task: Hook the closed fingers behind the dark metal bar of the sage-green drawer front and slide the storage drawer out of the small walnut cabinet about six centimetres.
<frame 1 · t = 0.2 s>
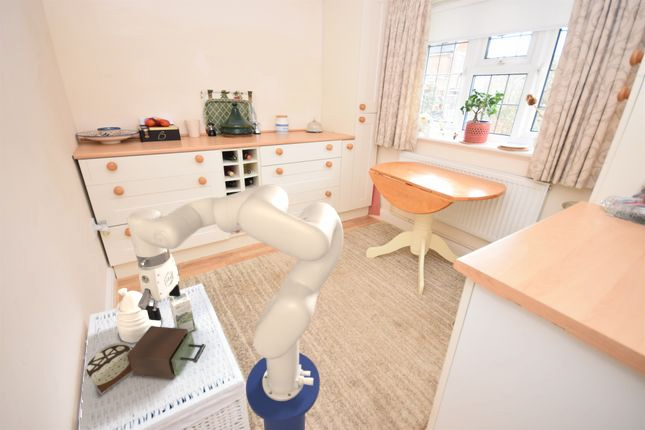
hand: (165, 307, 83), 24 cm above the counter, tool pointing down, fingers open, 9 cm apart
cabinet: (164, 360, 94), on the counter
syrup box: (185, 329, 107), on the counter
mint chocolate cake slice: (113, 377, 89), on the counter
drawer: (176, 352, 92), point 4 cm above the counter, slide at 0.5 cm
honey pot: (141, 328, 106), on the counter
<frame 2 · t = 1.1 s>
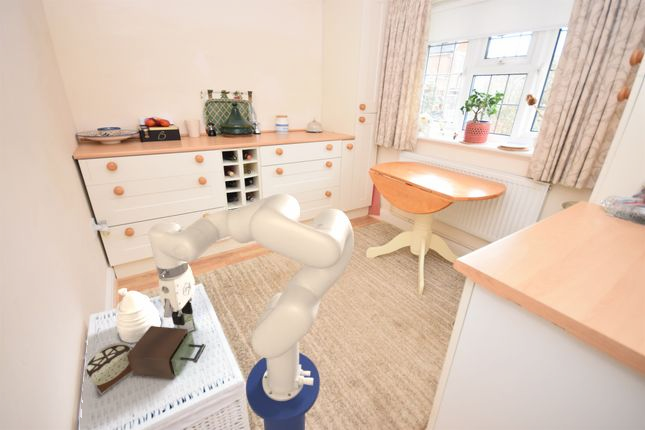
hand: (183, 318, 86), 19 cm above the counter, tool pointing down, fingers open, 3 cm apart
nothing on the counter moved.
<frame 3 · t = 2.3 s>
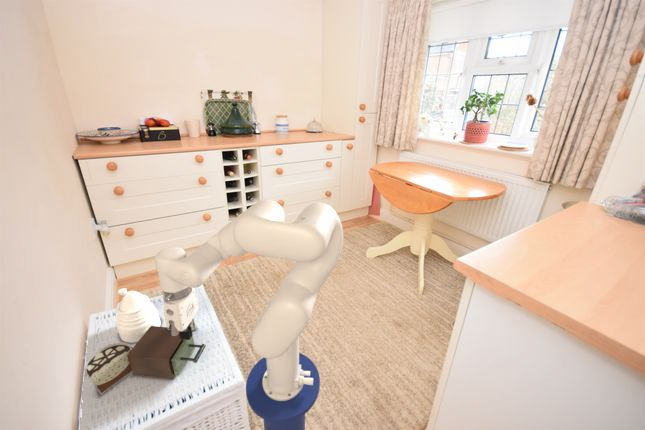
hand: (186, 337, 89), 12 cm above the counter, tool pointing down, fingers closed
nothing on the counter moved.
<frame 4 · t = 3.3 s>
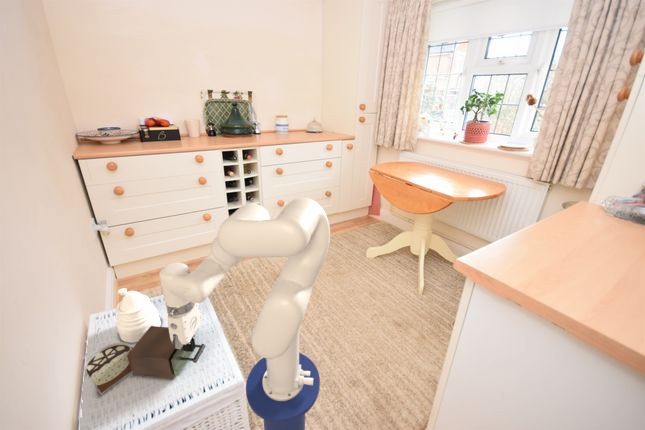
hand: (189, 349, 91), 6 cm above the counter, tool pointing down, fingers closed
nothing on the counter moved.
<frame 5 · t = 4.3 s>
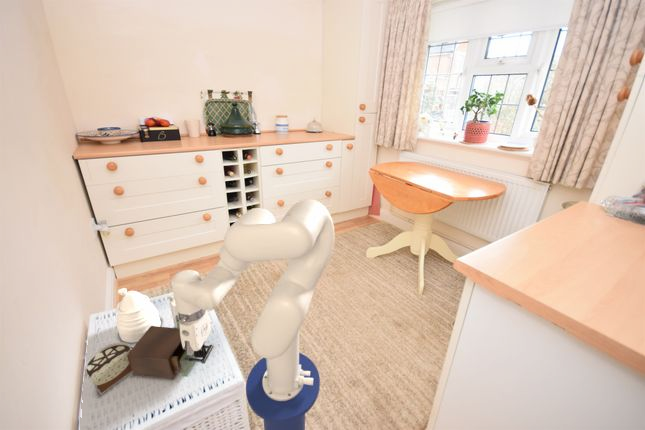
hand: (200, 355, 92), 4 cm above the counter, tool pointing down, fingers closed
drawer: (184, 353, 92), point 4 cm above the counter, slide at 3.1 cm, touching gripper
everything else where it was.
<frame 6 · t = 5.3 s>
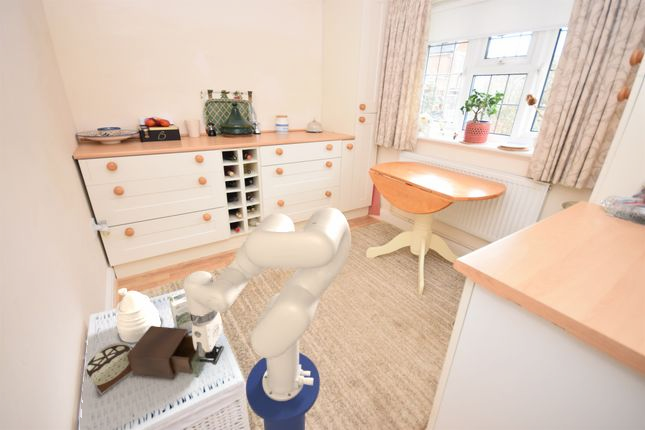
hand: (211, 356, 92), 4 cm above the counter, tool pointing down, fingers closed
drawer: (194, 354, 92), point 4 cm above the counter, slide at 6.6 cm, touching gripper
everything else where it was.
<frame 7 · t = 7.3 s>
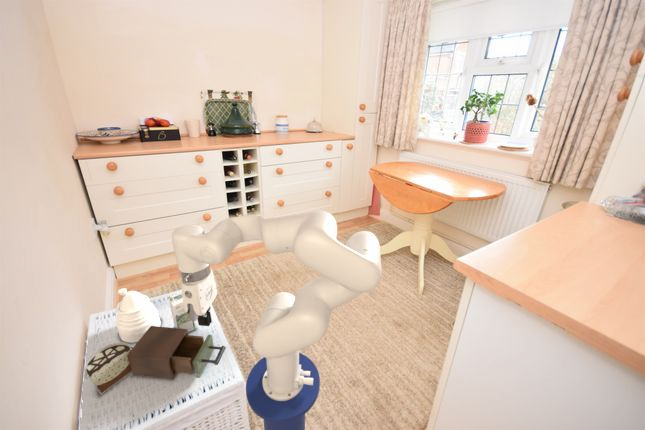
hand: (205, 323, 84), 20 cm above the counter, tool pointing down, fingers closed
drawer: (196, 354, 92), point 4 cm above the counter, slide at 7.1 cm
everything else where it was.
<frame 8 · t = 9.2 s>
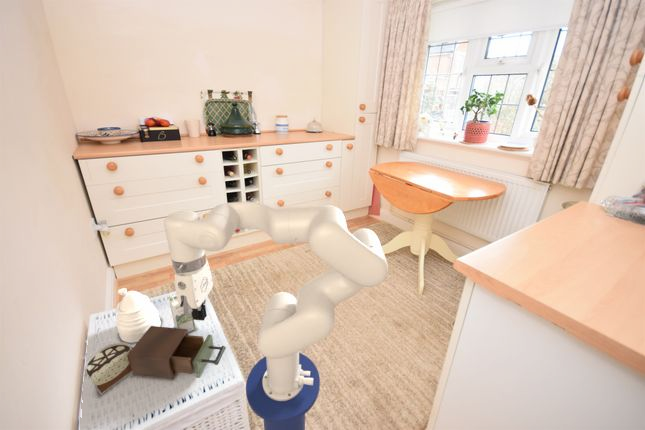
hand: (199, 317, 78), 25 cm above the counter, tool pointing down, fingers closed
nothing on the counter moved.
at the end: drawer slide at 7.1 cm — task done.
